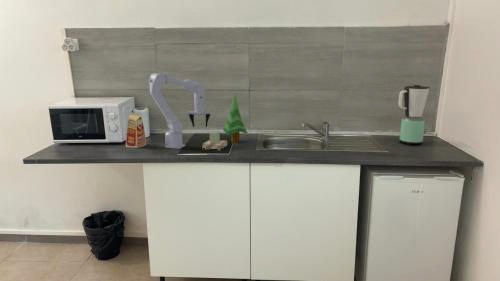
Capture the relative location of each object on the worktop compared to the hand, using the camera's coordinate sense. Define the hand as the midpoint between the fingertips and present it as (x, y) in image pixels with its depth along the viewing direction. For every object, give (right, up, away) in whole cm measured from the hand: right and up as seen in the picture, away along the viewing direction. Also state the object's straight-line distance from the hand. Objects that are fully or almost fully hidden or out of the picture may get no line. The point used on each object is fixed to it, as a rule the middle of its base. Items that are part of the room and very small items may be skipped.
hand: (200, 126), depth 219 cm
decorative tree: (+21, -9, +7) cm, 24 cm away
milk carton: (-37, -12, -3) cm, 39 cm away
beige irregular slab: (+10, -12, -6) cm, 17 cm away
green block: (+10, -9, -7) cm, 15 cm away
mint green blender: (+127, -10, +2) cm, 128 cm away
